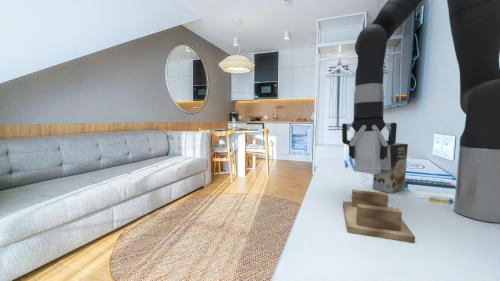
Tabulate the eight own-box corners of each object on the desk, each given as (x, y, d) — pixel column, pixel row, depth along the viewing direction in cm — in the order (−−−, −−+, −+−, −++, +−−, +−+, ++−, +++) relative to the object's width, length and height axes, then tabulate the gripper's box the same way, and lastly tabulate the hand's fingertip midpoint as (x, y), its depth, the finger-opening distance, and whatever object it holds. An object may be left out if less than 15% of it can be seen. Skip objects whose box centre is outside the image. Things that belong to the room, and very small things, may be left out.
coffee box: (391, 193, 72) (394, 145, 71) (372, 188, 77) (374, 143, 76) (405, 189, 77) (408, 143, 75) (386, 185, 82) (388, 142, 81)
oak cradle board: (392, 211, 58) (393, 192, 57) (414, 242, 43) (416, 216, 42) (342, 205, 62) (343, 187, 61) (347, 232, 47) (348, 208, 46)
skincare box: (381, 172, 63) (382, 130, 63) (374, 175, 61) (376, 131, 60) (359, 169, 68) (360, 130, 67) (352, 171, 65) (353, 130, 64)
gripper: (393, 101, 64) (392, 157, 65) (340, 103, 69) (339, 156, 70) (402, 98, 57) (399, 162, 58) (342, 101, 62) (341, 160, 63)
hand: (367, 158), depth 64 cm, fingers closed on skincare box, 7 cm apart
